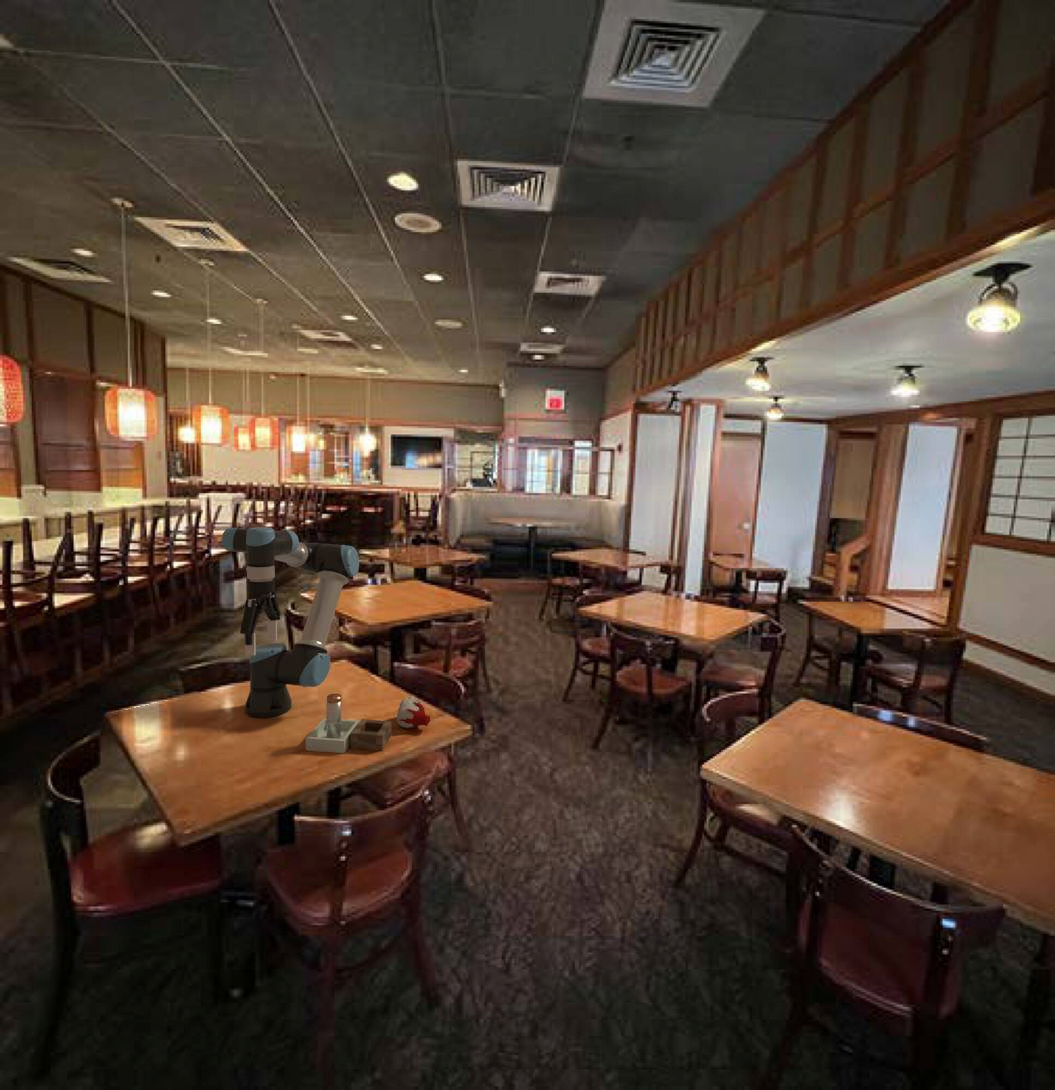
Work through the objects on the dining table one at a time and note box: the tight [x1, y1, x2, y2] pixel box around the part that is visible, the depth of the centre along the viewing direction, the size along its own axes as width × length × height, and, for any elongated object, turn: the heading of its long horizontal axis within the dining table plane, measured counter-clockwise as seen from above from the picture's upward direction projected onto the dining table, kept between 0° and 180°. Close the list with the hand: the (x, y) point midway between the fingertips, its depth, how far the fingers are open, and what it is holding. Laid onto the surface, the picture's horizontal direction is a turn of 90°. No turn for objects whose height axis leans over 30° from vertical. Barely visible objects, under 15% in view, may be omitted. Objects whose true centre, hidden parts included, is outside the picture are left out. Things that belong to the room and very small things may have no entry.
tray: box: [305, 717, 361, 754], centre depth 177 cm, size 14×12×4 cm
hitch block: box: [350, 718, 392, 752], centre depth 177 cm, size 10×10×5 cm
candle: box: [396, 695, 431, 730], centre depth 190 cm, size 9×11×15 cm
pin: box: [326, 693, 343, 739], centre depth 176 cm, size 4×4×14 cm
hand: (261, 647), depth 168 cm, fingers open, 13 cm apart
